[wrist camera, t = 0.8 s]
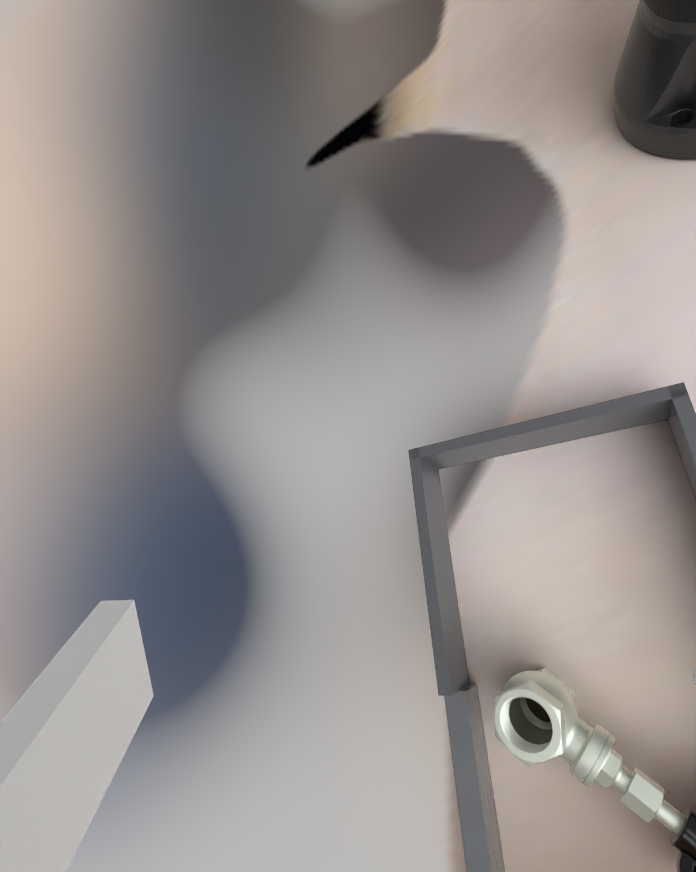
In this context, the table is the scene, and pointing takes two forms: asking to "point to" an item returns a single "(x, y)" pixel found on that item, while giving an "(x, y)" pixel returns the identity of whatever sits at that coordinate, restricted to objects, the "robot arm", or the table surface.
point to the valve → (584, 753)
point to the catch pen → (630, 411)
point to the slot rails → (473, 782)
